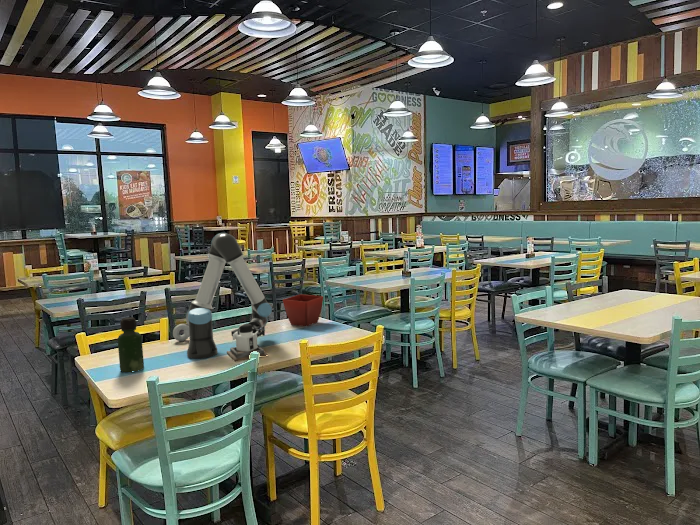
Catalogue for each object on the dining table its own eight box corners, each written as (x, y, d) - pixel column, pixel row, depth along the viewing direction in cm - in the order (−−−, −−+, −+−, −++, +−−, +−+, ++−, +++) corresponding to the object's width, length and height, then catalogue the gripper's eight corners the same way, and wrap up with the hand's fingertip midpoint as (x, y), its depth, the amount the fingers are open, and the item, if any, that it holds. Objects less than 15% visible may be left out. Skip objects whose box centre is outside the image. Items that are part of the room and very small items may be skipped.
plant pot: (307, 328, 312) (306, 301, 310) (283, 325, 322) (281, 299, 320) (325, 321, 328) (324, 296, 326) (301, 319, 338) (300, 294, 336)
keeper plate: (234, 361, 249) (234, 355, 249) (226, 353, 264) (226, 347, 264) (268, 356, 257) (267, 350, 256) (258, 348, 272) (258, 342, 271)
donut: (174, 343, 288) (173, 326, 287) (172, 342, 291) (171, 324, 290) (192, 340, 294) (190, 323, 293) (190, 338, 297) (188, 322, 295)
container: (258, 348, 262) (256, 323, 260) (247, 352, 255) (246, 326, 253) (246, 346, 265) (245, 322, 264) (236, 350, 259) (234, 325, 257)
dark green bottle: (148, 368, 242) (143, 317, 240) (126, 374, 235) (121, 321, 232) (137, 364, 249) (133, 314, 247) (116, 370, 242) (112, 318, 239)
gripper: (275, 332, 277) (266, 344, 255) (235, 333, 278) (222, 345, 256) (275, 319, 276) (265, 329, 254) (234, 320, 277) (221, 330, 255)
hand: (244, 337), depth 255 cm, fingers closed on container, 10 cm apart
